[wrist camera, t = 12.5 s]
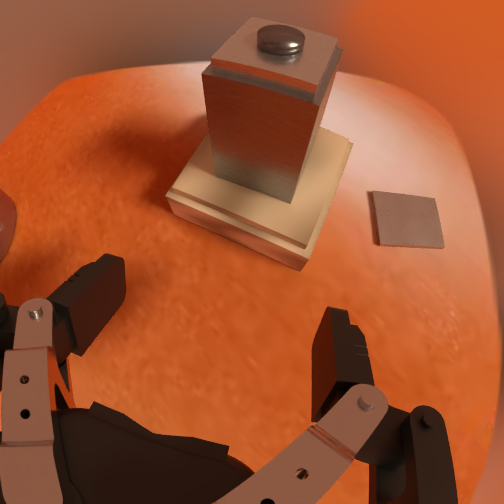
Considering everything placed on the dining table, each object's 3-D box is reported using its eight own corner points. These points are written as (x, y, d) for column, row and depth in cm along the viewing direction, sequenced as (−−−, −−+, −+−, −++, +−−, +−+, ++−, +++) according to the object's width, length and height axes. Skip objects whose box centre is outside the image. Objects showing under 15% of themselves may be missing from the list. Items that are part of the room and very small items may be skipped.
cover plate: (375, 248, 24) (380, 244, 23) (368, 196, 26) (372, 190, 25) (439, 251, 24) (444, 247, 23) (429, 203, 26) (434, 198, 25)
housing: (215, 176, 20) (198, 50, 10) (246, 123, 22) (248, 5, 12) (290, 204, 20) (326, 81, 10) (313, 146, 22) (348, 30, 11)
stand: (174, 214, 24) (162, 190, 20) (234, 121, 27) (233, 92, 23) (300, 271, 23) (311, 255, 19) (343, 164, 26) (356, 137, 22)
